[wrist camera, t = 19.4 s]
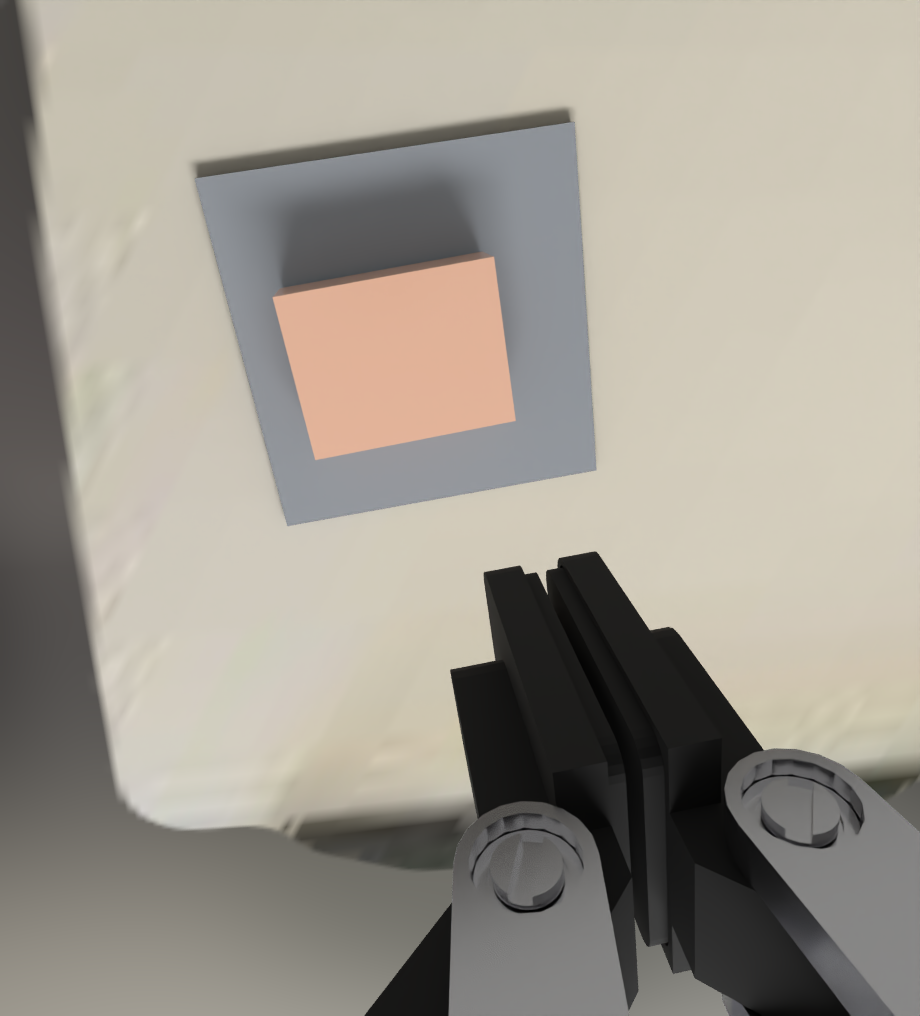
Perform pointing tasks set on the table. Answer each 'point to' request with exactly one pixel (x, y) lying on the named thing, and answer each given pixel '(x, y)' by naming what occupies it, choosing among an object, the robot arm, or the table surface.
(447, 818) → the table surface
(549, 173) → the mat
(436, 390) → the salmon orange block
